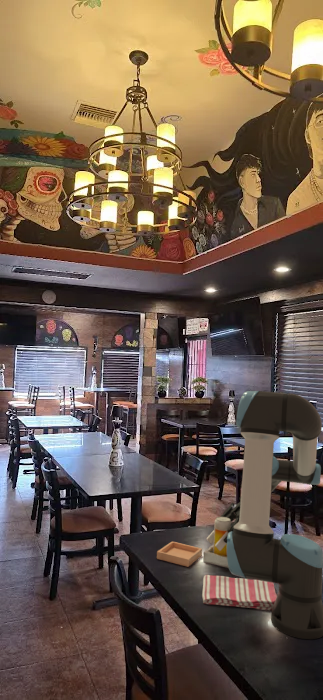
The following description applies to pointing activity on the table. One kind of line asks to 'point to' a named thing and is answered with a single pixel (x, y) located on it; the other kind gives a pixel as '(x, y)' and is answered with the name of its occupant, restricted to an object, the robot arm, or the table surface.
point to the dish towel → (238, 592)
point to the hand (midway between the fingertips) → (213, 544)
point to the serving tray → (179, 553)
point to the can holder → (214, 558)
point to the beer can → (221, 533)
